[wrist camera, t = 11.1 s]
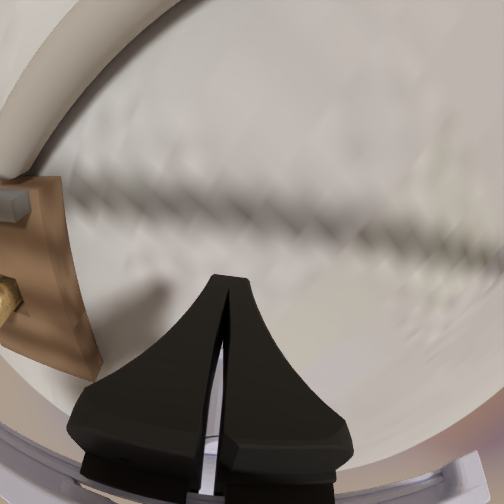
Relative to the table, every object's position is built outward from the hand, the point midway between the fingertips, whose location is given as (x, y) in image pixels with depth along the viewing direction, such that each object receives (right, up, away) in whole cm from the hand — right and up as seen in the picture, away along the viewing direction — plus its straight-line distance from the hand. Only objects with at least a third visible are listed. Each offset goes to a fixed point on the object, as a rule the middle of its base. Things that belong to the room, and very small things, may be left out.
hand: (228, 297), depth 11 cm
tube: (-9, +16, +2) cm, 18 cm away
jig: (-23, -1, +12) cm, 26 cm away
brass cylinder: (-23, -1, +12) cm, 26 cm away
